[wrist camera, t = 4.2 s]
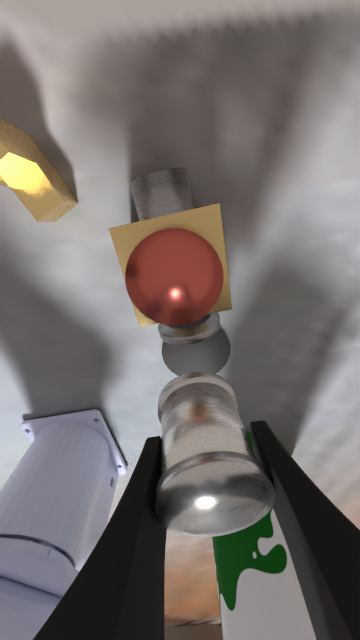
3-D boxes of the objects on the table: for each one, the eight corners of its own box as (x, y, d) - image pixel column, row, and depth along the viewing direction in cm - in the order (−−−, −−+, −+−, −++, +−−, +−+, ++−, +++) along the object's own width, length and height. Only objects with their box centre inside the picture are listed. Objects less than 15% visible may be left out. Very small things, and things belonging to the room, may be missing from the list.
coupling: (241, 418, 13) (281, 520, 9) (172, 437, 14) (177, 546, 9) (225, 361, 11) (266, 454, 7) (146, 385, 12) (136, 489, 7)
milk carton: (243, 420, 22) (585, 1477, 3) (304, 455, 24) (713, 1214, 6) (189, 466, 25) (221, 1175, 6) (249, 494, 27) (399, 1078, 9)
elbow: (78, 203, 14) (42, 196, 10) (55, 221, 14) (13, 221, 11) (30, 136, 13) (-31, 100, 9) (6, 158, 13) (-62, 133, 9)
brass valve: (220, 310, 17) (245, 362, 11) (157, 322, 17) (145, 380, 11) (201, 172, 13) (221, 128, 7) (121, 192, 14) (72, 166, 7)
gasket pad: (232, 372, 19) (233, 373, 19) (170, 382, 20) (170, 384, 19) (225, 314, 17) (225, 315, 17) (154, 327, 17) (154, 328, 17)
